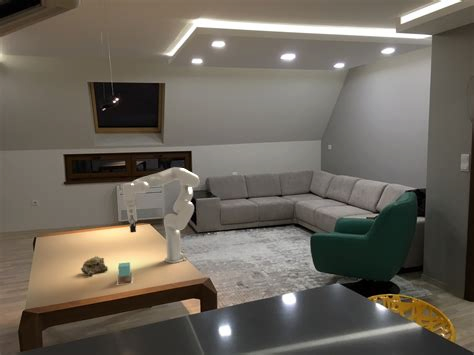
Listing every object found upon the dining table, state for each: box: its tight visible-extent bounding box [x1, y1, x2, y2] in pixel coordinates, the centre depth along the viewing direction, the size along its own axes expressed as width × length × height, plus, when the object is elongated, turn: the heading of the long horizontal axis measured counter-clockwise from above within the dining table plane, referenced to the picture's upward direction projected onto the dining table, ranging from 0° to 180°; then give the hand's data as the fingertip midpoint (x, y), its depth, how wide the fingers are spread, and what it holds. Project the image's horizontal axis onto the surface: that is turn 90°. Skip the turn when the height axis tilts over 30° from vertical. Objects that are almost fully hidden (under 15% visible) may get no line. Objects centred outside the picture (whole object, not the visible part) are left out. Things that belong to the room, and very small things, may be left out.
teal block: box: [117, 262, 132, 277], centre depth 227 cm, size 6×6×6 cm
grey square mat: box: [116, 277, 134, 286], centre depth 228 cm, size 16×14×1 cm
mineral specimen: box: [80, 255, 109, 275], centre depth 246 cm, size 14×13×10 cm
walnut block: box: [117, 272, 133, 285], centre depth 228 cm, size 7×7×4 cm
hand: (133, 230), depth 244 cm, fingers open, 9 cm apart
